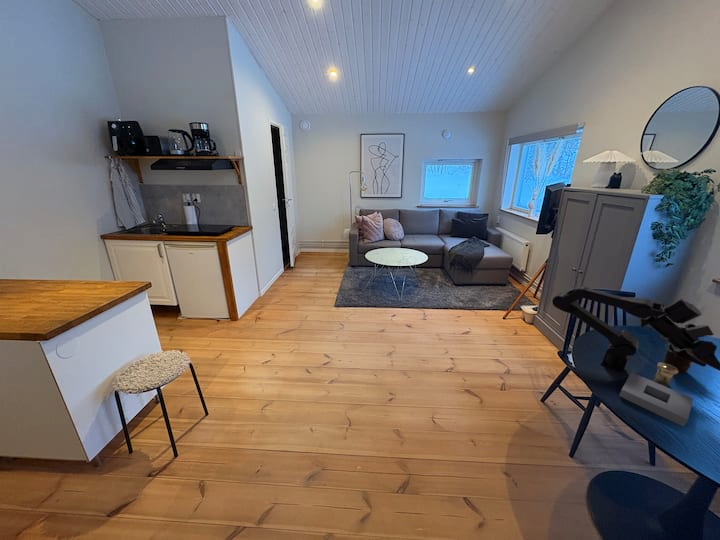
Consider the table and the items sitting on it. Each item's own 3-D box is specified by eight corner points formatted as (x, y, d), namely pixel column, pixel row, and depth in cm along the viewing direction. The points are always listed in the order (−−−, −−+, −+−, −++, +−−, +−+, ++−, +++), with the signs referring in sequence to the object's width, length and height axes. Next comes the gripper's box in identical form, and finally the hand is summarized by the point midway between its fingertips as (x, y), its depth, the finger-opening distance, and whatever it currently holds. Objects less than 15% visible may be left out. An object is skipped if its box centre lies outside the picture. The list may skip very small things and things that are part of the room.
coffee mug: (673, 361, 120) (683, 340, 116) (696, 375, 112) (707, 354, 108) (646, 361, 120) (655, 341, 116) (667, 376, 112) (677, 354, 108)
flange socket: (618, 395, 102) (621, 389, 101) (628, 378, 110) (631, 372, 109) (684, 426, 90) (688, 419, 89) (689, 404, 99) (693, 398, 97)
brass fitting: (649, 381, 109) (656, 366, 106) (652, 375, 112) (659, 360, 109) (669, 390, 105) (677, 374, 102) (671, 383, 108) (679, 368, 106)
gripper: (707, 315, 92) (761, 357, 86) (676, 315, 109) (719, 350, 103) (673, 336, 95) (722, 378, 89) (648, 333, 112) (688, 368, 106)
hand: (713, 368), depth 97 cm, fingers open, 9 cm apart
